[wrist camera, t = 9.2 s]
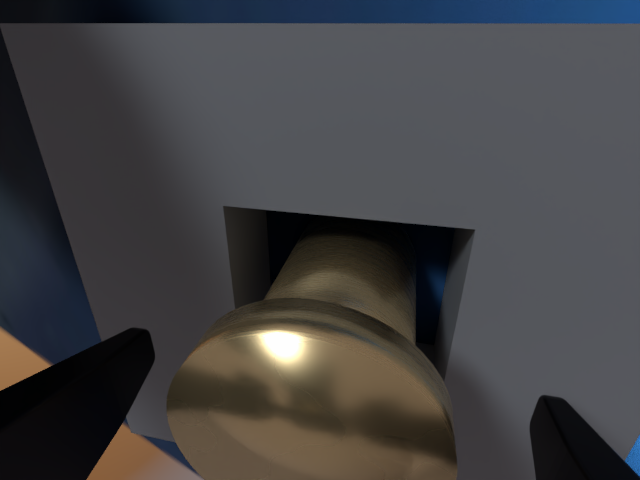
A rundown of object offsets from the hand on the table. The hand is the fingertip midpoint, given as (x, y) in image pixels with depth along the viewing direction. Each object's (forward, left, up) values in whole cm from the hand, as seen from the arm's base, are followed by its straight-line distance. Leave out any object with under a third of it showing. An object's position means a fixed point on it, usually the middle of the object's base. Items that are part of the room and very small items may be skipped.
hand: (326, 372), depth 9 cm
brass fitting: (0, 0, -5) cm, 5 cm away
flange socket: (0, 0, -5) cm, 5 cm away
